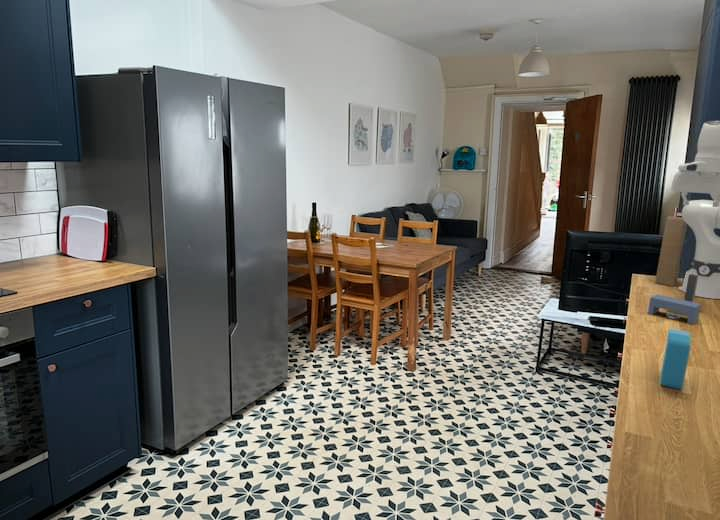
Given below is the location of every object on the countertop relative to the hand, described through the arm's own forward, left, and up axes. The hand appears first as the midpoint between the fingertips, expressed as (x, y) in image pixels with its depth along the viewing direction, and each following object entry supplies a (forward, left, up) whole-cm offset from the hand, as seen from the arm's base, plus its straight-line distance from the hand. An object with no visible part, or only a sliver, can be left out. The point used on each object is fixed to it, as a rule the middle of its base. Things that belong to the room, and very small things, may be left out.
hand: (700, 205), depth 189 cm
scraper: (+5, +2, -38) cm, 39 cm away
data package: (+79, +20, -39) cm, 90 cm away
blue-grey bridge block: (+18, +2, -38) cm, 42 cm away
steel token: (+18, +2, -39) cm, 43 cm away
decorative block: (-41, -17, -39) cm, 59 cm away
